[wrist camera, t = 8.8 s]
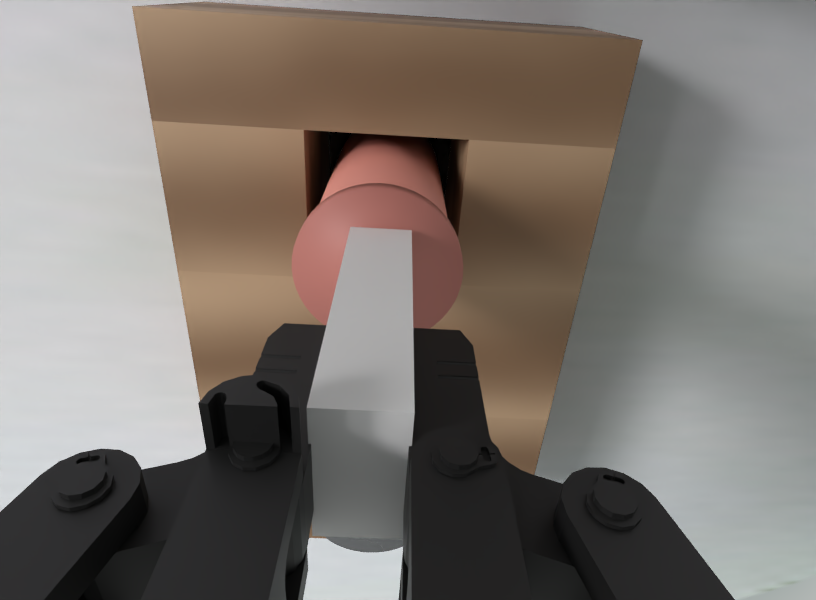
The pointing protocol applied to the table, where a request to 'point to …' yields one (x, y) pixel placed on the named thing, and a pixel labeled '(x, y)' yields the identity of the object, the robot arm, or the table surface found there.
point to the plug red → (382, 223)
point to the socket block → (386, 115)
